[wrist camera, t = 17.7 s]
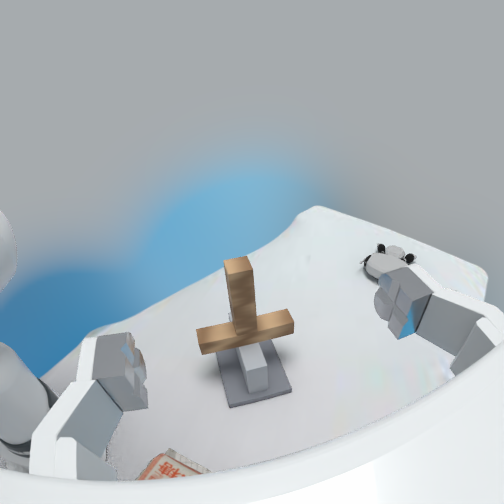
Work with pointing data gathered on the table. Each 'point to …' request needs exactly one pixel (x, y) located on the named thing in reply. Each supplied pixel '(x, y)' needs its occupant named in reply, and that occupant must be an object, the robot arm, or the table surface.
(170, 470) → the packaged product
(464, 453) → the robot arm
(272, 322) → the wooden t-shaped block
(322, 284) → the table surface
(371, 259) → the robot toy
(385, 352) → the table surface
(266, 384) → the ridge stand
